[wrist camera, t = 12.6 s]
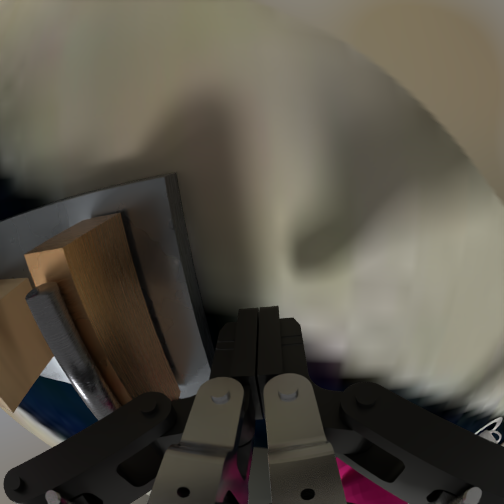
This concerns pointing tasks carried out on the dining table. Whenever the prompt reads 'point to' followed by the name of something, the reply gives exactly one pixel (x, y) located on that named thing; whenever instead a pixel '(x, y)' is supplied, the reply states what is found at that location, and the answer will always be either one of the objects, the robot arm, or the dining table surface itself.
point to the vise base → (145, 262)
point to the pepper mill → (363, 488)
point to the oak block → (19, 344)
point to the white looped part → (488, 434)
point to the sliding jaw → (97, 315)
